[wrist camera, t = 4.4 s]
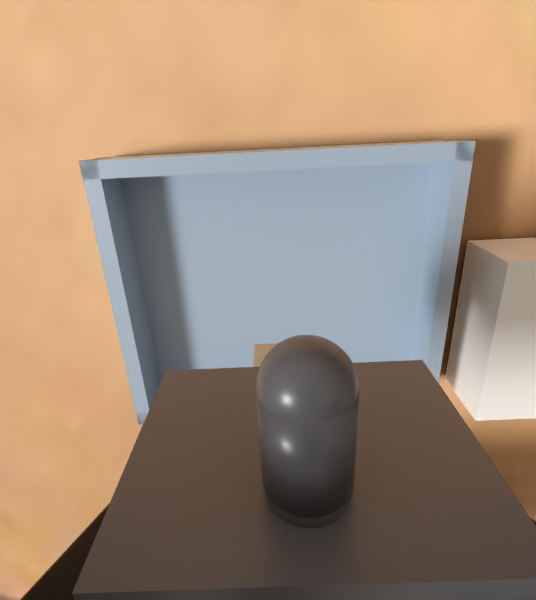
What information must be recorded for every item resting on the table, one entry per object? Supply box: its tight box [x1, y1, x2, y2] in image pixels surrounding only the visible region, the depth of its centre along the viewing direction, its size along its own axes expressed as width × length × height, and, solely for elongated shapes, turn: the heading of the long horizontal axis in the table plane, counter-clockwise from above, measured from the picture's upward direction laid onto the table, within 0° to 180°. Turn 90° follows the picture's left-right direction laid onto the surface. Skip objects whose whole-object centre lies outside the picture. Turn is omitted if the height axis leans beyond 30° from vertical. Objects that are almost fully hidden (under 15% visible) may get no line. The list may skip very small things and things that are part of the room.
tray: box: [79, 140, 476, 424], centre depth 16 cm, size 11×13×2 cm
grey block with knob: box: [72, 335, 536, 600], centre depth 7 cm, size 6×4×6 cm
